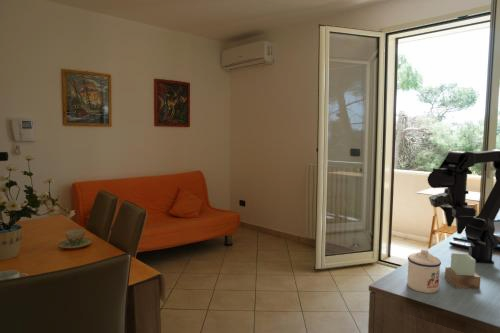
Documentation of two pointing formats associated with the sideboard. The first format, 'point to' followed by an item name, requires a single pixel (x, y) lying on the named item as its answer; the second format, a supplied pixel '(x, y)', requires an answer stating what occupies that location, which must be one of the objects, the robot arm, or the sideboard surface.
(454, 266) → the green cube
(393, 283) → the sideboard surface
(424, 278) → the teacup with lid
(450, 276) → the walnut block
